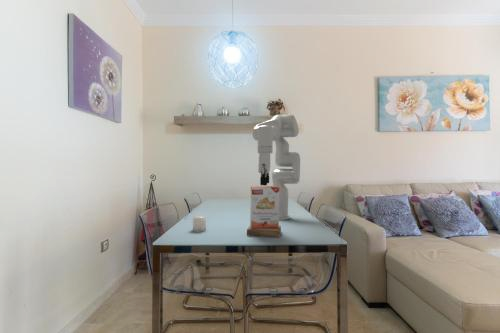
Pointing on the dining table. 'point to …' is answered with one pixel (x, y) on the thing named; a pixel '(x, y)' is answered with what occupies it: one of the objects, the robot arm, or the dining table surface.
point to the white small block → (199, 223)
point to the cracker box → (264, 207)
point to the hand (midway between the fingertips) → (264, 184)
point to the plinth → (264, 232)
